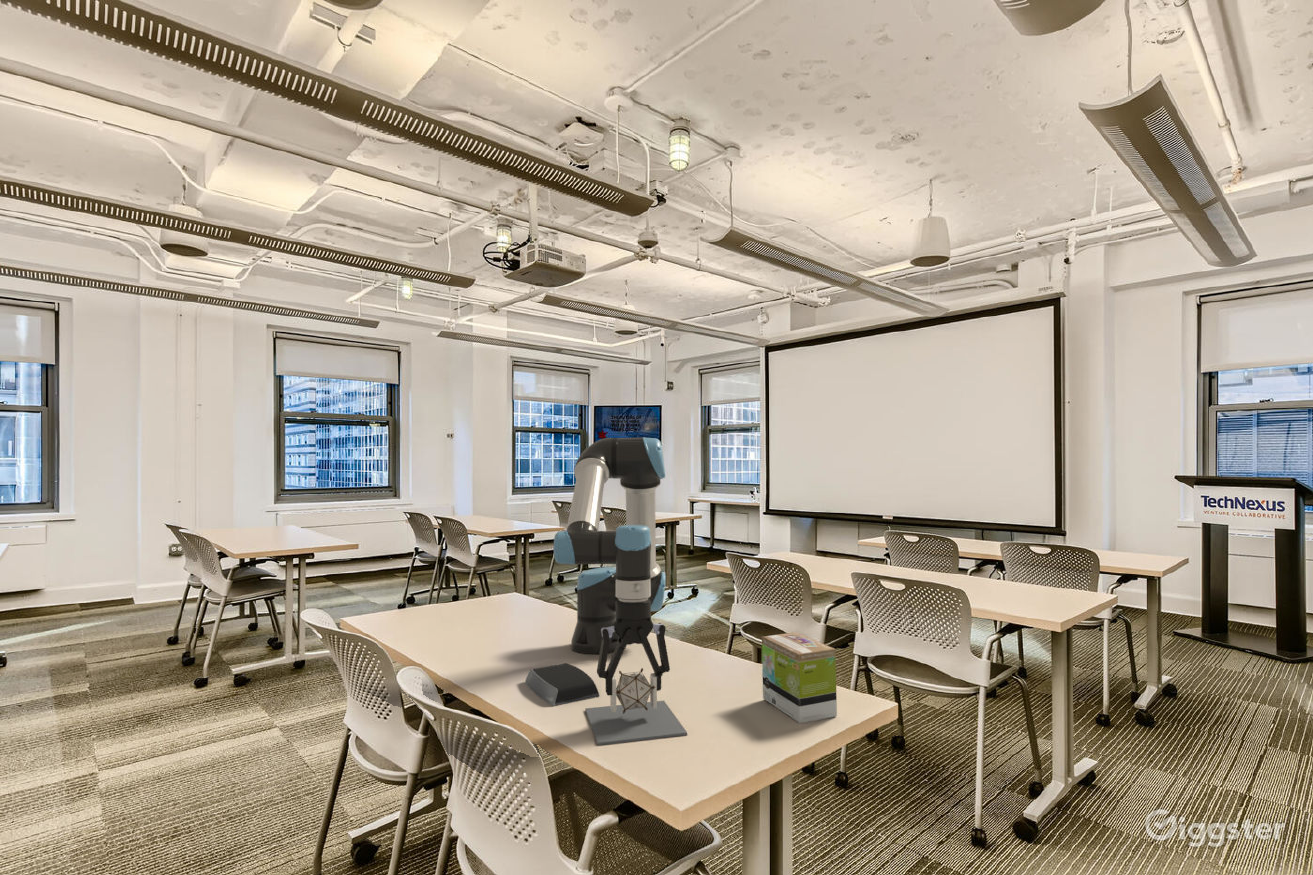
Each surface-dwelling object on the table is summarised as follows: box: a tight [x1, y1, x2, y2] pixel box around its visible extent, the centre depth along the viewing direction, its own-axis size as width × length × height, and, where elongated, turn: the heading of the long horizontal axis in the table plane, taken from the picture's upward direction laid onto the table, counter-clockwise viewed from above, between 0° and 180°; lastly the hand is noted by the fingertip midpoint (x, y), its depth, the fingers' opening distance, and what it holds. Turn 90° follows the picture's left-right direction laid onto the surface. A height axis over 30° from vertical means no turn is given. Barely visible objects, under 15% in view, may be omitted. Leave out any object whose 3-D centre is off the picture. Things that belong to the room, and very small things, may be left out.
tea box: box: [761, 631, 838, 724], centre depth 137 cm, size 15×10×15 cm, turn 22°
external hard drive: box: [525, 662, 600, 707], centre depth 150 cm, size 13×19×4 cm
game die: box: [616, 667, 655, 714], centre depth 130 cm, size 9×8×10 cm
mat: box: [584, 700, 688, 746], centre depth 129 cm, size 18×18×1 cm
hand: (633, 708), depth 129 cm, fingers closed on game die, 8 cm apart
